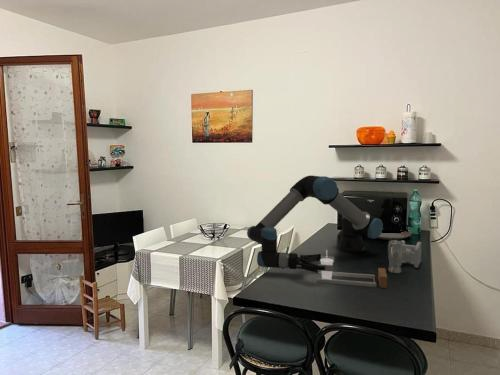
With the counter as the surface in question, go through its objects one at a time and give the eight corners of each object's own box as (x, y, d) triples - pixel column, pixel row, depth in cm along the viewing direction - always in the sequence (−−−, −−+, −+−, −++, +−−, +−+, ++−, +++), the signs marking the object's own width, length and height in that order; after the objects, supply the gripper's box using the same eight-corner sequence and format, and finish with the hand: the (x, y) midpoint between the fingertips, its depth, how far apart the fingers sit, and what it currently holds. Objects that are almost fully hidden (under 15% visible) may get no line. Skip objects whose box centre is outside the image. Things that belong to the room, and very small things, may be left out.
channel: (316, 282, 169) (316, 271, 168) (319, 273, 180) (319, 263, 180) (386, 288, 161) (387, 277, 160) (384, 278, 172) (384, 268, 171)
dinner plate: (359, 235, 259) (359, 230, 258) (389, 231, 269) (389, 226, 269) (388, 244, 234) (388, 239, 233) (419, 239, 244) (419, 234, 244)
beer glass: (401, 269, 184) (402, 240, 182) (402, 274, 178) (403, 244, 176) (387, 268, 186) (387, 239, 185) (387, 272, 180) (388, 243, 178)
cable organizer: (417, 270, 183) (418, 247, 182) (395, 267, 188) (395, 245, 187) (421, 262, 195) (421, 241, 194) (400, 259, 201) (400, 238, 200)
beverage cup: (325, 281, 169) (325, 252, 168) (317, 277, 175) (317, 249, 174) (335, 279, 172) (336, 250, 170) (328, 275, 177) (328, 247, 176)
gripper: (293, 260, 190) (334, 263, 184) (284, 276, 166) (331, 280, 160) (292, 246, 189) (334, 248, 183) (284, 260, 165) (331, 264, 160)
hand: (333, 263), depth 172 cm, fingers open, 13 cm apart
